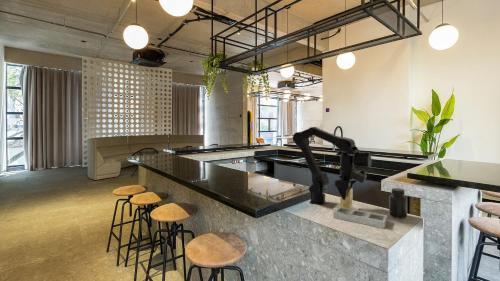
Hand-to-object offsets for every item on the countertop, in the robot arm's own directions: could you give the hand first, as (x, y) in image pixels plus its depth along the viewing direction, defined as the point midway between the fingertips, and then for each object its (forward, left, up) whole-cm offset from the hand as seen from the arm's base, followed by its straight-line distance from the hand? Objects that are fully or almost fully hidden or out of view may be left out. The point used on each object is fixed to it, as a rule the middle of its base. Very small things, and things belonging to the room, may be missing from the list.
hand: (346, 197), depth 117 cm
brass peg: (0, 0, -5) cm, 5 cm away
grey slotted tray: (+8, -9, -6) cm, 14 cm away
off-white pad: (0, 0, -6) cm, 6 cm away
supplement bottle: (+21, +4, -6) cm, 22 cm away
